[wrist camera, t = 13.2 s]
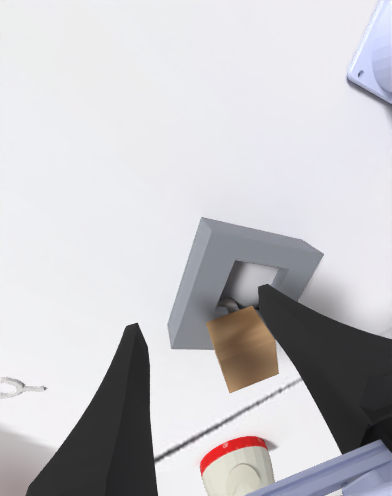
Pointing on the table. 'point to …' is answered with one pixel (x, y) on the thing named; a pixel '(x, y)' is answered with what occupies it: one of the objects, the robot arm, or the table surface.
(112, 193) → the table surface
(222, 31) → the table surface
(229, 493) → the kitchen timer
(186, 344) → the square hole plate
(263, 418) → the table surface
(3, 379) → the scissors
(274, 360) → the peg
